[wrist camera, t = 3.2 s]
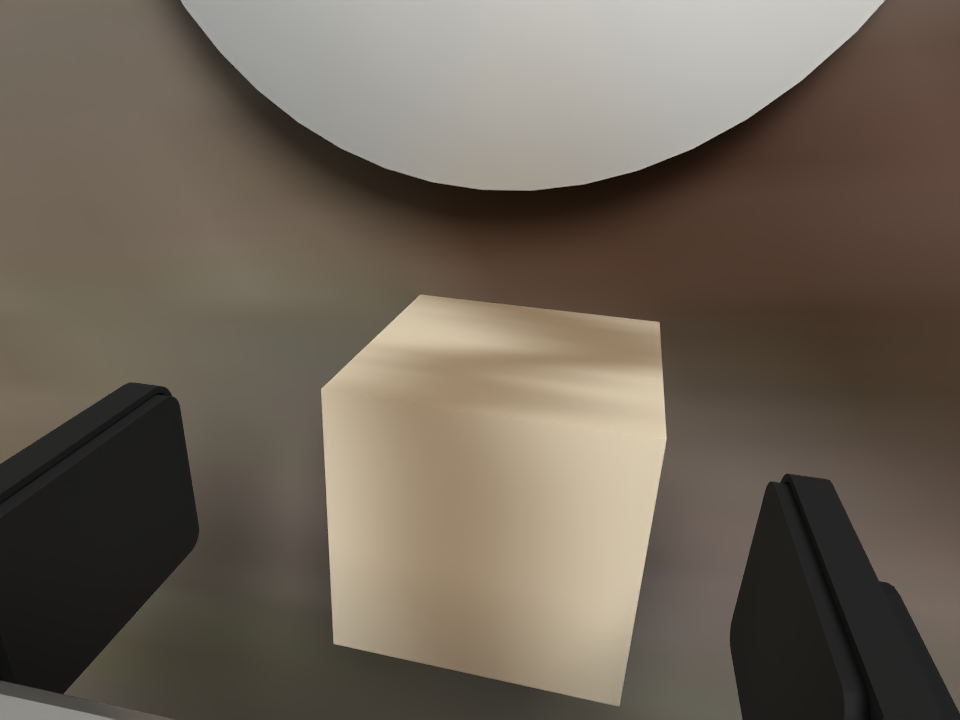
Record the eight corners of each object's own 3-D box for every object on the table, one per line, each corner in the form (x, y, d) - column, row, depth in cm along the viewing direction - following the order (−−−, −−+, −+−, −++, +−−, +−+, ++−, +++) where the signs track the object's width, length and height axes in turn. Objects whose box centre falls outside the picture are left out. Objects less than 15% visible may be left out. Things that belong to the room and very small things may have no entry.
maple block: (659, 320, 14) (666, 439, 9) (626, 525, 16) (619, 706, 11) (421, 293, 15) (321, 388, 10) (418, 490, 17) (333, 643, 12)
